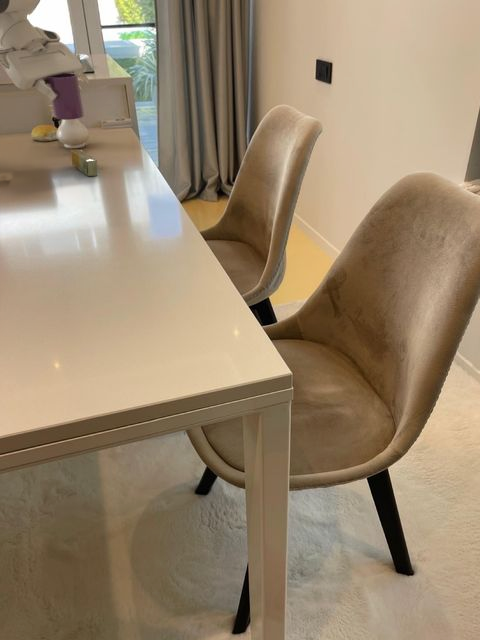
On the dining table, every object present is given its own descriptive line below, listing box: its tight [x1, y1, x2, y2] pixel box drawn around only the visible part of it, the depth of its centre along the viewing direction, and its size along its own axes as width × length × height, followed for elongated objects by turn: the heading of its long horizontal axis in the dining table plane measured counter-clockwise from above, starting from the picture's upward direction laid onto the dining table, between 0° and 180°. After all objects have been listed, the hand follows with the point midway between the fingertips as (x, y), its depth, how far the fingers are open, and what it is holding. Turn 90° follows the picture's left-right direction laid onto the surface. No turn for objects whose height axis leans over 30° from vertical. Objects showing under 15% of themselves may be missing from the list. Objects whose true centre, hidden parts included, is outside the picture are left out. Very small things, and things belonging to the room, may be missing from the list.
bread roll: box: [31, 124, 59, 142], centre depth 175 cm, size 8×9×4 cm
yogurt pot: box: [47, 73, 85, 121], centre depth 133 cm, size 7×7×9 cm
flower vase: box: [47, 52, 90, 150], centre depth 161 cm, size 13×18×25 cm
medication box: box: [70, 149, 98, 177], centre depth 146 cm, size 12×3×4 cm, turn 35°
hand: (67, 95), depth 132 cm, fingers closed on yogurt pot, 7 cm apart
